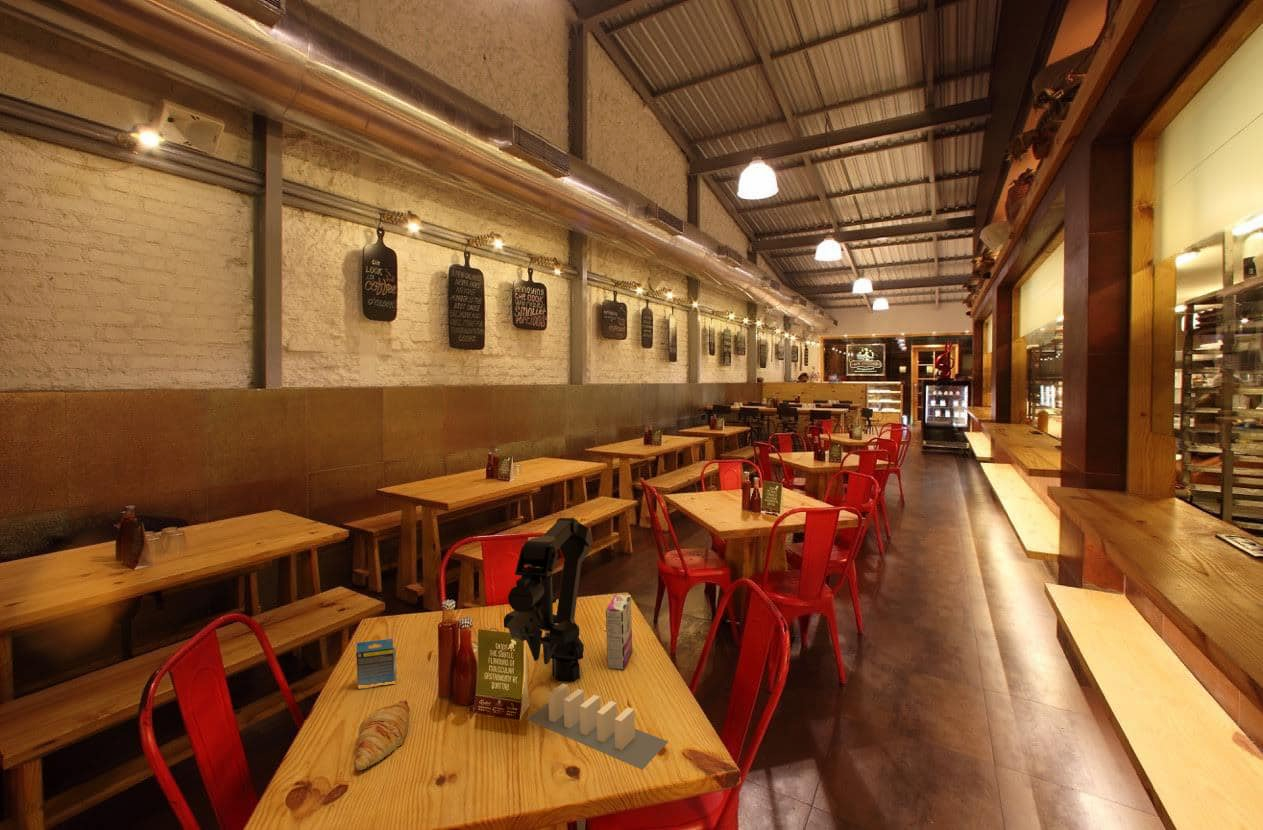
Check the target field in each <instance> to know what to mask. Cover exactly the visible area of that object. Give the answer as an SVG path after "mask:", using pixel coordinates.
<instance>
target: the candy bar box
mask: <svg viewBox="0 0 1263 830" xmlns="http://www.w3.org/2000/svg"><path fill="white" fill-rule="evenodd" d="M631 596H632V595H631V594H614V596H613V598H612V599H611V600H610V602H609V604H608V606H606V607H607V608H606V609H605V620H606V621H605V625H606V651H607V652H606V655H607V656H606V657H607V669H609V670H621V671H624V670H626V668H627V667H626V666H627V665H628V663H629V659H630V658H631V655H632V653H633V630H632V629H633V626H632V601H631V600H632V597H631Z"/></svg>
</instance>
